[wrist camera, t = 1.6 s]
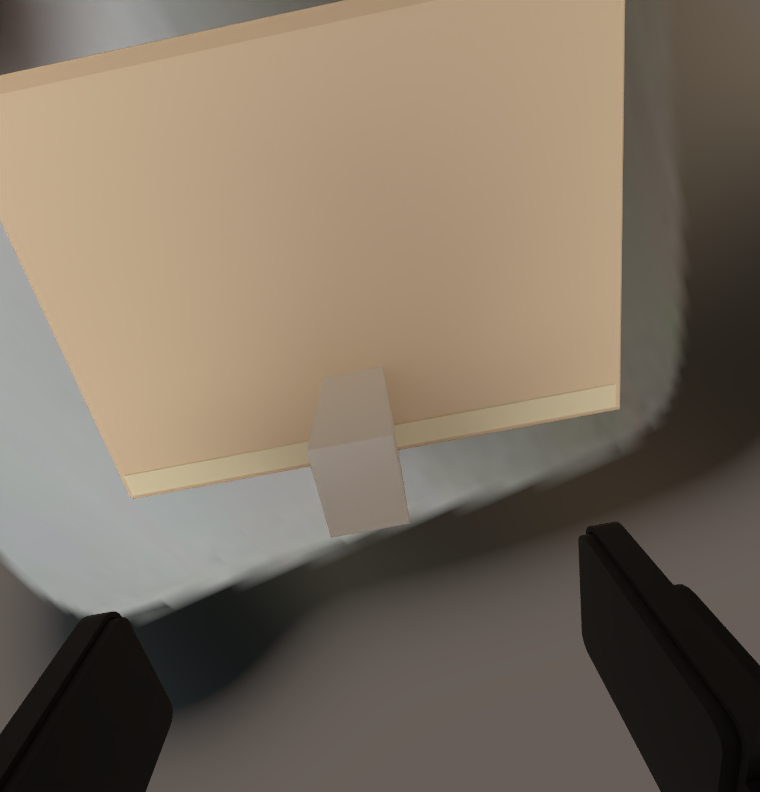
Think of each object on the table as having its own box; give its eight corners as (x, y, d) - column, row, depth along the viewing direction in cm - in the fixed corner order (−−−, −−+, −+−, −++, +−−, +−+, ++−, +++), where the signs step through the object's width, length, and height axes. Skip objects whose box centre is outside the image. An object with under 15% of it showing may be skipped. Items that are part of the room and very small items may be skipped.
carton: (97, 135, 24) (-67, 87, 15) (525, 44, 23) (634, -65, 14) (199, 411, 30) (128, 500, 21) (541, 346, 29) (625, 408, 20)
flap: (-38, 109, 15) (-314, 39, 9) (614, -31, 14) (805, -213, 8) (136, 489, 20) (41, 608, 14) (611, 401, 20) (724, 486, 14)
